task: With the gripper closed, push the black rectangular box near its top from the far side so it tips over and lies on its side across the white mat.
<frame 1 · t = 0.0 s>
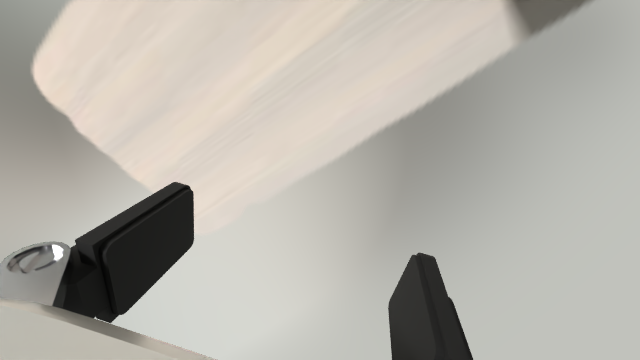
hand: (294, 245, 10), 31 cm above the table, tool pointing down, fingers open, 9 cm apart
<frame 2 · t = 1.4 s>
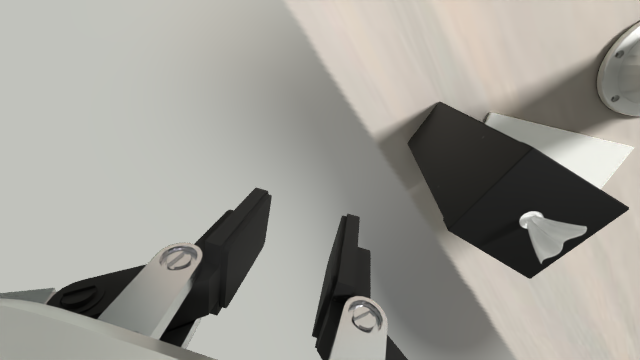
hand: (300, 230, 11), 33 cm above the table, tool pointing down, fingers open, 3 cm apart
black rectangular box: (442, 135, 40), on the table
white mat: (531, 171, 40), on the table
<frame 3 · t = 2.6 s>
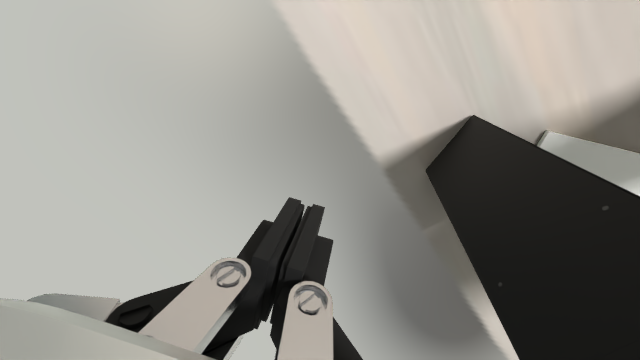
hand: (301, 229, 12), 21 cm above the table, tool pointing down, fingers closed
black rectangular box: (474, 160, 29), on the table
white mat: (600, 212, 29), on the table
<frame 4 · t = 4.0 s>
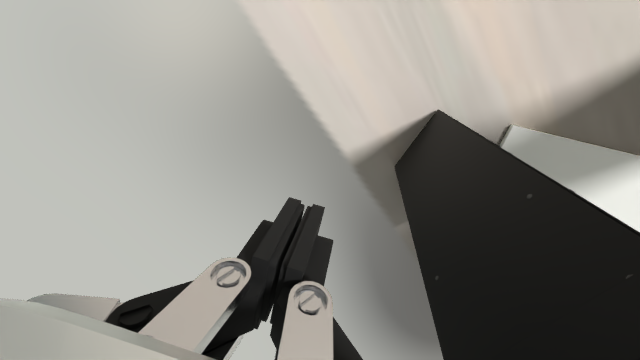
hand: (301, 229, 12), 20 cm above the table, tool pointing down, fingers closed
black rectangular box: (442, 156, 29), on the table
white mat: (567, 206, 29), on the table
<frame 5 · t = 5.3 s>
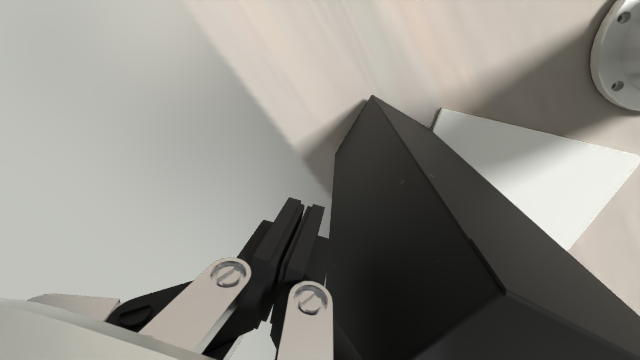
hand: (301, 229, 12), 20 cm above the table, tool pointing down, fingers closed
black rectangular box: (380, 141, 29), on the table
white mat: (503, 189, 29), on the table
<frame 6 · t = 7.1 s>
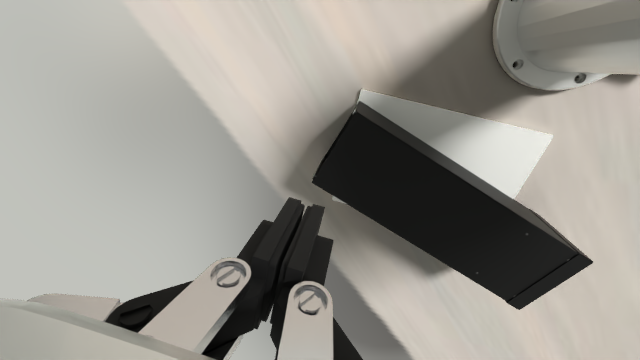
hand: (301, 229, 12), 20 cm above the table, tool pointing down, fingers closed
black rectangular box: (334, 137, 26), point 4 cm above the table, touching white mat
white mat: (427, 170, 30), on the table
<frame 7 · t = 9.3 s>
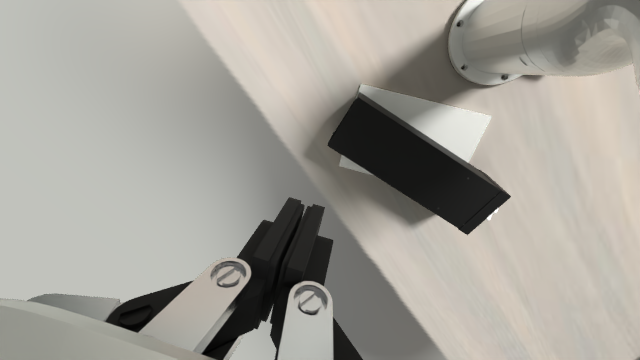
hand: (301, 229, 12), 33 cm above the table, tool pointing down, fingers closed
black rectangular box: (342, 116, 37), point 4 cm above the table, touching white mat
white mat: (408, 142, 42), on the table
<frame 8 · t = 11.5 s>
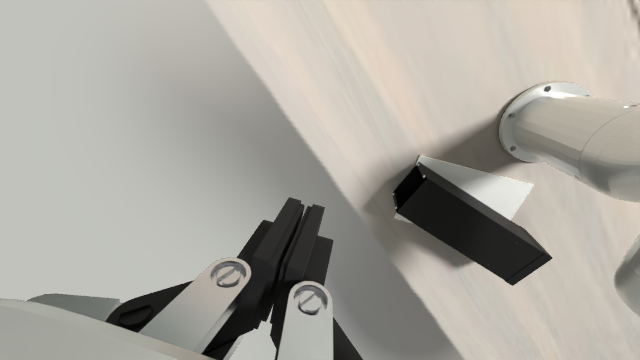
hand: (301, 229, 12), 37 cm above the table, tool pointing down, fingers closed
black rectangular box: (406, 185, 44), point 4 cm above the table, touching white mat
white mat: (457, 201, 48), on the table
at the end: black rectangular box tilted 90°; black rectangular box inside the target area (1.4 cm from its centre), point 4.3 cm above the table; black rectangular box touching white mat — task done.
